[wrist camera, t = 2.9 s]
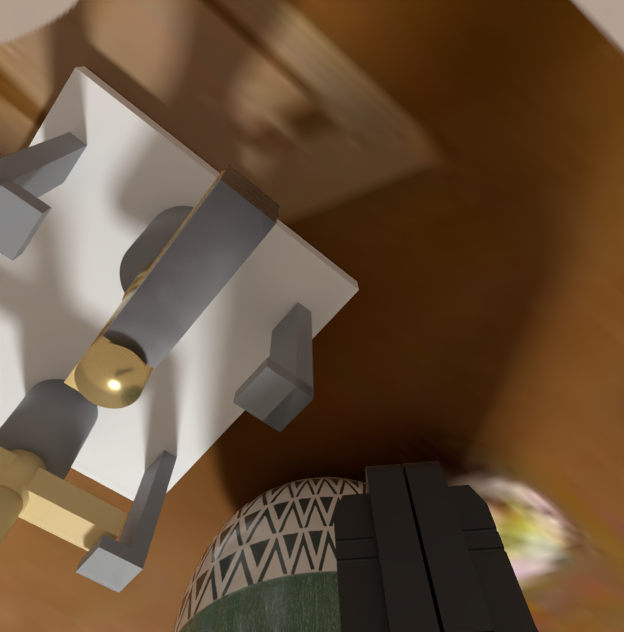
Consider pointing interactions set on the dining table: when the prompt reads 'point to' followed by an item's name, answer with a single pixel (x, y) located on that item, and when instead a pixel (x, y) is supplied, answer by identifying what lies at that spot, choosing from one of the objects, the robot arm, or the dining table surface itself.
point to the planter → (271, 564)
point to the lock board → (99, 305)
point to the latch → (174, 290)
